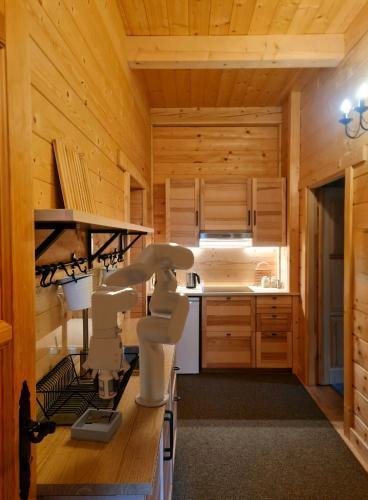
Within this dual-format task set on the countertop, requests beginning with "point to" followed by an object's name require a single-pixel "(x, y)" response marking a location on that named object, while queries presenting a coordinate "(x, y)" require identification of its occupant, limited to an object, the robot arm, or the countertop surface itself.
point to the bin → (96, 426)
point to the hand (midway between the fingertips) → (106, 389)
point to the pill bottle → (106, 384)
